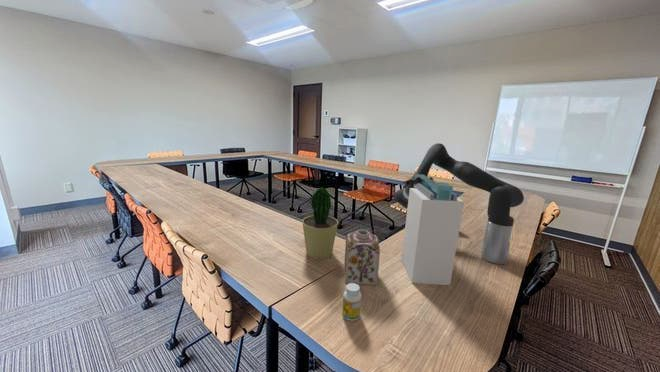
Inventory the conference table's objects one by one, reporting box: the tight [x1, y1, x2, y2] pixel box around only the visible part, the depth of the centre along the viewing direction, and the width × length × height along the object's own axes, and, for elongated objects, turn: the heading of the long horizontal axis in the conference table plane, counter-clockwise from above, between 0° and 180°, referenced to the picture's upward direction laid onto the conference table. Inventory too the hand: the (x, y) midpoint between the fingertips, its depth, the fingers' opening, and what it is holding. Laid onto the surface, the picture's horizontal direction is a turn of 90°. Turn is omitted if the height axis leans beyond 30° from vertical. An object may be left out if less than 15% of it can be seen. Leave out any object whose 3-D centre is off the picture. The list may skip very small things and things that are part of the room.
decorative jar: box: [344, 229, 381, 286], centre depth 97 cm, size 12×12×18 cm
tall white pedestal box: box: [400, 184, 465, 286], centre depth 100 cm, size 16×14×34 cm
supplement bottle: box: [341, 283, 362, 322], centre depth 78 cm, size 5×5×10 cm
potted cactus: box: [301, 187, 339, 260], centre depth 112 cm, size 15×15×30 cm
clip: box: [414, 173, 454, 201], centre depth 101 cm, size 28×5×5 cm, turn 178°
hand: (425, 179), depth 107 cm, fingers open, 4 cm apart
